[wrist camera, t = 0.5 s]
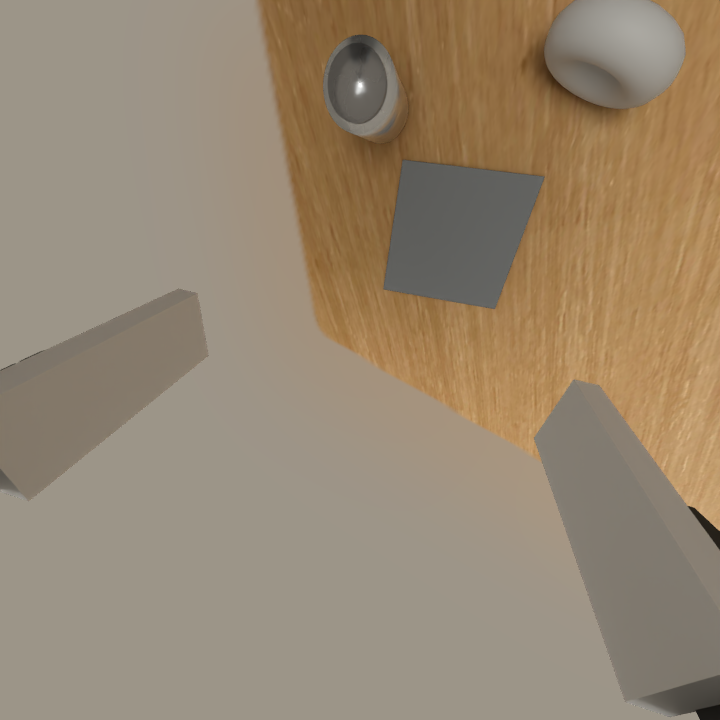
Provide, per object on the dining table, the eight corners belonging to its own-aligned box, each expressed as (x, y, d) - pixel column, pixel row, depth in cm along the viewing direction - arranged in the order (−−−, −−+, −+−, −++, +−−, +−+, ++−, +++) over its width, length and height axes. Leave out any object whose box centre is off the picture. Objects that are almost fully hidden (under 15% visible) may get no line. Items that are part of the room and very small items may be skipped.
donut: (645, 79, 27) (738, 38, 18) (611, 124, 29) (680, 106, 20) (551, 18, 26) (602, -53, 18) (522, 68, 28) (556, 25, 20)
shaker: (358, 73, 31) (320, 27, 21) (413, 77, 30) (400, 32, 20) (353, 140, 34) (318, 128, 24) (403, 146, 33) (387, 136, 23)
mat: (403, 159, 34) (402, 159, 33) (543, 176, 32) (544, 176, 31) (383, 288, 42) (383, 289, 42) (494, 308, 40) (494, 309, 40)
